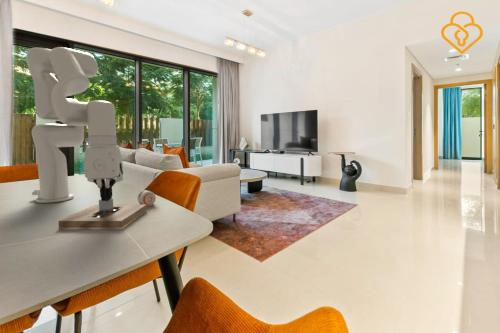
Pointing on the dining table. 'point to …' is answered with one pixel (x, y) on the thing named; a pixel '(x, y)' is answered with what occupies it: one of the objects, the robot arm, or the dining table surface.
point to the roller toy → (146, 198)
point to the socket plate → (103, 218)
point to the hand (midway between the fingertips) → (106, 199)
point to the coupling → (106, 208)
